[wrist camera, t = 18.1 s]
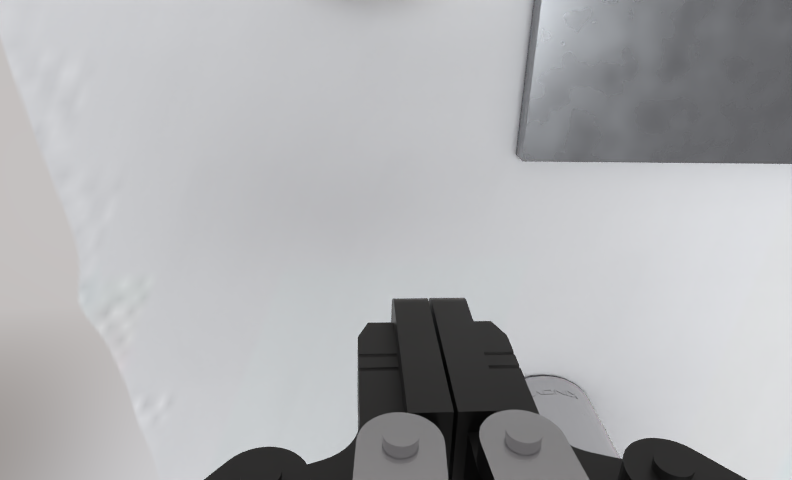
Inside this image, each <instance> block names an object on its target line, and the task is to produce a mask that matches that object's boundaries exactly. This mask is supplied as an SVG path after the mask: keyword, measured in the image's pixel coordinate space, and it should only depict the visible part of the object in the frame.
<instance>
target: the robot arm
mask: <svg viewBox="0 0 792 480" xmlns="http://www.w3.org/2000/svg"><path fill="white" fill-rule="evenodd" d="M204 480H747V479H745V478H743V477H741V476H740V475H738V474H736V473H734V472H732V471H731V470H729V469H727V468H725V467H723V466H722V465H720V464H718V463H716V462H714V461H713V460H711V459H709V458H707V457H705V456H704V455H702V454H700V453H698V452H697V451H695V450H693V449H691V448H689V447H687V446H685V445H682V444H680V443H677V442H674V441H670V440H666V439H660V438H646V439H641V440H638V441H635V442H633V443H632V444H630V445H629V446H628V447H627V448H626V450H625V452H624V455H623V459H620V457H619V455H618V453H617V451H616V449H615V447H614V446H613V444H612V442H611V440H610V438H609V436H608V434H607V432H606V430H605V428H604V427H603V425H602V423H601V421H600V419H599V417H598V415H597V414H596V412H595V410H594V408H593V406H592V404H591V402H590V401H589V399H588V397H587V396H586V394H585V393H584V391H582V390H581V389H580V388H579V387H578V386H577V385H575V384H573V383H571V382H569V381H568V380H565V379H561V378H558V377H551V376H537V377H529V378H524V376H523V373H522V371H521V368H519V364H518V361H517V359H516V356H515V355H514V354H513V349H512V347H511V344H510V342H509V340H508V337H507V335H506V334H505V333H504V332H502V331H501V330H500V329H499V328H498V327H497V326H496V325H494V324H493V323H492V322H491V321H475V322H473V319H472V316H471V313H470V310H469V307H468V304H467V301H466V299H465V298H430V299H429V301H428V299H427V298H418V299H393V300H392V315H391V323H368V324H367V325H366V326H365V328H364V329H363V331H362V332H361V334H360V335H359V337H358V433H357V435H356V437H355V439H354V440H353V441H352V443H351V444H350V445H349V446H348V447H347V448H345V449H344V450H343V451H341V452H340V453H338V454H336V455H334V456H332V457H330V458H327V459H324V460H321V461H318V462H315V463H311V464H308V465H307V464H306V462H305V461H304V460H303V459H302V458H301V457H300V456H299V455H297V454H296V453H294V452H292V451H290V450H287V449H283V448H278V447H261V448H255V449H251V450H248V451H245V452H242V453H240V454H238V455H236V456H235V457H233V458H232V459H230V460H229V461H227V462H226V463H225V464H223V465H222V466H221V467H220V468H218V469H217V470H216V471H214V472H213V473H212V474H211V475H209V476H208V477H207V478H206V479H204Z"/></svg>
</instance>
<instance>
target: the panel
mask: <svg viewBox="0 0 792 480" xmlns="http://www.w3.org/2000/svg"><path fill="white" fill-rule="evenodd" d="M516 154H517V156H518V157H519V158H520V159H521V160H522V161H551V162H658V163H764V164H792V0H534V6H533V15H532V23H531V32H530V41H529V49H528V58H527V66H526V75H525V83H524V92H523V101H522V109H521V118H520V126H519V135H518V143H517V152H516Z"/></svg>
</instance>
